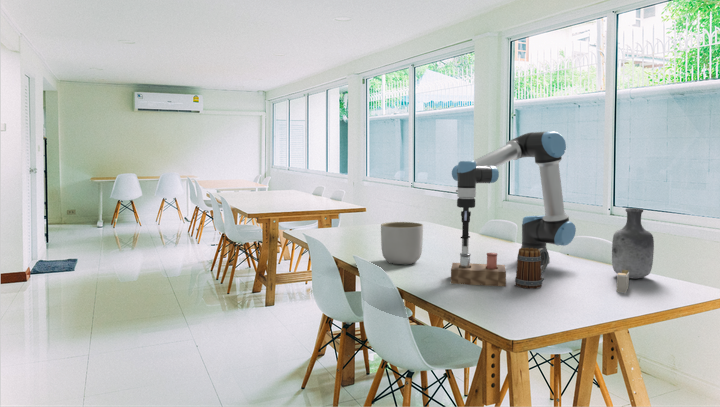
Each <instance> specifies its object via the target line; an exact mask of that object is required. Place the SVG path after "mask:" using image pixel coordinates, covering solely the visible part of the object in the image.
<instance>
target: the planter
mask: <svg viewBox="0 0 720 407" xmlns="http://www.w3.org/2000/svg"><path fill="white" fill-rule="evenodd" d="M423 242H424V224H422V223H419V222H411V221H410V222H409V221H391V222H385V223H384V222H383V223H381V224H380V245H381V254H382V258H384V259H385V260H386V261H387V262H388V263H389V264H392V263H393V264H392V265H397V264H408V265H411V264H412V263H413V264H415V263H417V261H418V260H420V258H421V257H422V254H423ZM413 264H412V265H413Z"/></svg>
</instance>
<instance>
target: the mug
mask: <svg viewBox="0 0 720 407" xmlns="http://www.w3.org/2000/svg"><path fill="white" fill-rule="evenodd" d="M542 251H543V252H544V263H543V264H541V255H540V254H541V252H542ZM516 258H517V261H516V262H517V263H516V272H515V273H516V274H515V278H514V284H515V285H516V287H518V288H522V289H529V290H530V289H531V290H535V289H540V288H541V287H542V285H543V282H544V281H545V277H543V274H544V272H545V271H546V269H547V267H548V266H549V263H548V261H549V258H550V253H549V250H548V249H547V250H546V249H543V248H540V249H534V248H530V249H529V248H521V247H520V248H519V249H518V253H517V257H516ZM541 265H542V266H541Z"/></svg>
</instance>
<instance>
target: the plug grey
mask: <svg viewBox="0 0 720 407" xmlns="http://www.w3.org/2000/svg"><path fill="white" fill-rule="evenodd" d="M459 256H460V257H459V258H460V259H459V261H460V262H459V263H460V268H470V263H471V253H469V252H468V254H462V252H460V253H459Z"/></svg>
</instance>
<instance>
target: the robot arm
mask: <svg viewBox="0 0 720 407" xmlns="http://www.w3.org/2000/svg"><path fill="white" fill-rule="evenodd" d="M566 149H567V143H566V140H565V138H564V136H563V135H562V134H560V132H557V131H551V130H548V131H538V132H537V131H535V132H533V131H532V132H527V133H524V134H522V135H519V136H517V137H515V138H513V139H510V140H508V141H507V142H506V144H505V145H503V146H501V147H499V148H497V149H494V150H492V151H490V152H488V153H486V154H484V155H482V156H479V157H477V158H475V159H473V160H460V161H459V162H458V164H456V165H455V166H454V167H453V168H452V169H451V177H452V179H453V180H454V181H456V182H457V189H456V190H455V192H456V193H457V199H456V207H457V208H463V209H462V210H461V212H460V216H461V223H462V224H461V225H462V228H461V229H462V234H461V236H460V239H461V253H462V254H468V253H469V245H470V244H469V243H470V242H469V239H471V236H470V234H469V233H470V232H469V230H470V229H469V225H470V221H471V214H472V212H471V211H470V209H472V208H475V207H476V199H475V198H476V194H477V192H476V190H477V188H476V186H477V184H492V183H497V181H498V179H499V176H500V171H499V169H498V167H501V166H502V165H504V164H506V163H508V162H510V161H513V160H514V161H516V160H520V159H522V158H534V163H535V164H536V165H537V166H539V167H538V168H539V175H540V176H539V177H540V183H541V191H542V199H543V207H544V214H543V215H526V216H524V217H523V218H522V223H521V247H520V248H529V249H530V248H534V249H540V248H543V249H546V250H547V251H548V248H547V244H549V245H556V246H563V247H564V246H568V245H569V244H571V243H572V241H573V240H574V238H575V236H576V231H577V230H576V226H575V223H573V222H572V221H570V219H569V214H567V213H566V212H565V206H564V197H563V189H562V188H563V187H562V180H561V173H560V172H561V171H560V164H559V163H560V162H561V161H562V159H563V158H562V157H563V155H564V154H565V153H566ZM540 255H541V265H543V263H544V252H543V251H542V252H541V254H540ZM549 263H550V257H549V261H548V264H549Z"/></svg>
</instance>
